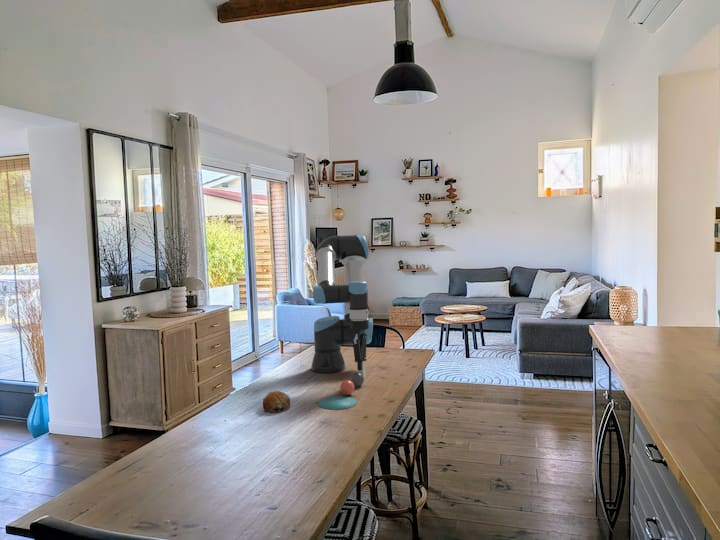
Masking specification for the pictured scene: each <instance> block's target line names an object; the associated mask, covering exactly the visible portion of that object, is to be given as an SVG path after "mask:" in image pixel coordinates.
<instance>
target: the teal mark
mask: <svg viewBox="0 0 720 540" xmlns="http://www.w3.org/2000/svg"><path fill="white" fill-rule="evenodd" d="M354 405H355V406H356V405H358V400H357V399H356V398H354V397H350V396H344V395H343V396H342V395H341V396H340V395H339V396H331V397H325V398H323V399H320V401H318V406H319V408H322V409H326V410H333V411H334V410H335V411H336V410H338V409H339V410H346V409H345V408H347V409H351V408H354V407H355V406H354Z"/></svg>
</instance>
